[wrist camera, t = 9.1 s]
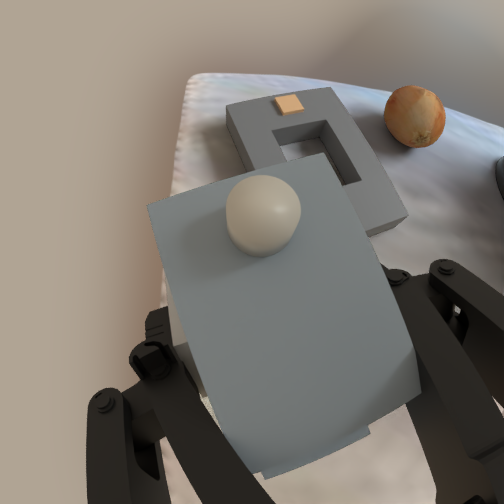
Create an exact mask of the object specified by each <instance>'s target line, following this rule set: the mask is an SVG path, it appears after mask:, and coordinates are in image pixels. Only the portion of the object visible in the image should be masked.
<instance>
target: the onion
mask: <svg viewBox="0 0 504 504" xmlns="http://www.w3.org/2000/svg"><path fill="white" fill-rule="evenodd" d="M445 118H446V117H445V110H444V107H443V105H442V102H441V101H440V99H439V98H438V97H437V96H436V95H435V94H434V93H432V92H430V91H429V90H427V89H424V88H421V87H418V86H405V87H402V88H399V89H397V90H396V91H394V92H393V93H392V95H391V96H390V97H389V99H388V101H387V103H386V106H385V110H384V120H385V123H386V126H387V128H388V130H389V131H390V132H391V134H392V135H393V136H394V137H395V138H396V139H397V140H398V141H400V142H401V143H403V144H405V145H407V146H410V147H413V148H421V147H427V146H429V145H431V144H433V143H434V142H435V141H437V140H438V138H439V137H440V136H441V134H442V132H443V129H444V126H445Z"/></svg>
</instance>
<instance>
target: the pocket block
mask: <svg viewBox="0 0 504 504" xmlns="http://www.w3.org/2000/svg"><path fill="white" fill-rule="evenodd" d="M226 125H227V127H228V129H229V132H230V134H231V136H232V139H233V141H234V143H235V146H236V148H237V150H238V152H239V155H240V157H241V159H242V162H243V164H244V166H245V169H246V171H247V172H251V171H254V170H258V169H261V168H265V167H269V166H272V165H276V164H280V163H283V162H287V160H286V158H285V156H284V154H283V152H282V150H281V148H280V146H281V145H286V144H290V143H294V142H299V141H303V140H308V139H312V138H317V137H320V139H321V140H322V142H323V144H324V146H325V147H326V149H327V151H328V153H329V154H330V156H331V158H332V160H333V161H334V163H335V165H336V167H337V169H338V171H339V172H340V174H341V176H342V178H343V180H344V182H345V184H346V185H344V186H343V188H344V190H345V192H346V194H347V196H348V198H349V200H350V202H351V204H352V206H353V208H354V210H355V212H356V213H357V215H358V218H359V220H360V222H361V224H362V226H363V228H364V230H365V232H366V234H367V236H368V237H370V236H373V235H375V234H378V233H381V232H383V231H386V230H389V229H391V228H394V227H396V226H397V225H398V224H399V223H400V222H401V221H403V220H404V219H405V218H406V217H407V216H408V213H407V211H406V209H405V207H404V205H403V203H402V201H401V199H400V197H399V195H398V193H397V191H396V190H395V188H394V186H393V184H392V182H391V181H390V179H389V177H388V175H387V173H386V172H385V170H384V168H383V166H382V165H381V163H380V161H379V160H378V158H377V156H376V155H375V153H374V151H373V150H372V148H371V146H370V145H369V143H368V142H367V140H366V138H365V137H364V135H363V134H362V132H361V131H360V129H359V127H358V126H357V124H356V123H355V121H354V120H353V118H352V117H351V115H350V114H349V112H348V111H347V109H346V108H345V107H344V105H343V104H342V102H341V101H340V99H339V98H338V97H337V95H336V94H335V92H334V91H333V90H332V88H331V87H326V88H318V89H311V90H304V91H297V92H291V93H285V94H279V95H273V96H268V97H263V98H258V99H253V100H248V101H243V102H239V103H234V104H230V105H226Z"/></svg>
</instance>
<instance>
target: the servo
mask: <svg viewBox="0 0 504 504" xmlns="http://www.w3.org/2000/svg"><path fill="white" fill-rule="evenodd" d="M147 209H148V212H149V217H150V221H151V225H152V228H153V232H154V236H155V239H156V243H157V247H158V250H159V253H160V257H161V261H162V264H163V268H164V271H165V274H166V278H167V281H168V284H169V287H170V291H171V294H172V297H173V300H174V303H175V306H176V309H177V313H178V316H179V319H180V322H181V325H182V327H183V330H184V333H185V336H186V339H187V342H188V345H189V348H190V350H191V353H192V356H193V359H194V361H195V364H196V367H197V370H198V372H199V375H200V377H201V380H202V383H203V385H204V388H205V390H206V393H207V396H208V398H209V401H210V403H211V405H212V408H213V410H214V413H215V415H216V418H217V420H218V422H219V425H220V427H221V429H222V432H223V434H224V436H225V437H226V439H227V440H228V442H229V443H230V445H231V446H232V447H233V449H234V450H235V452H236V453H237V454H238V456H239V457H240V458H241V460H242V461H243V463H244V464H245V465H246V467H247V468H248V469H249V471H250V472H251V473H252V474H255V473H258V472H262V475H263V477H264V479H265V480H266V479H269V478H272V477H275V476H278V475H280V474H283V473H286V472H288V471H291V470H294V469H296V468H299V467H301V466H304V465H306V464H308V463H311V462H313V461H316V460H318V459H320V458H322V457H325V456H327V455H329V454H331V453H333V452H336V451H338V450H340V449H342V448H344V447H346V446H348V445H350V444H352V443H354V442H356V441H358V440H360V439H362V438H364V437H365V436H367V435H369V434H370V431H369V428H368V425H369V424H371V423H372V422H374V421H376V420H378V419H380V418H381V417H383V416H385V415H387V414H388V413H390V412H392V411H394V410H395V409H397V408H399V407H400V406H402V405H403V404H405V403H407V402H408V401H410V400H411V399H413V398H415V397H416V396H418V395H419V394H421V386H420V379H419V372H418V366H417V360H416V354H415V349H414V347H413V344H412V341H411V338H410V336H409V333H408V330H407V327H406V325H405V322H404V320H403V317H402V314H401V312H400V309H399V307H398V304H397V302H396V299H395V297H394V295H393V292H392V290H391V287H390V285H389V283H388V280H387V278H386V276H385V273H384V271H383V269H382V266H381V264H380V262H379V260H378V258H377V255H376V253H375V251H374V249H373V247H372V244H371V242H370V240H369V238H368V236H367V234H366V232H365V230H364V228H363V226H362V224H361V222H360V220H359V218H358V215H357V213H356V212H355V210H354V208H353V206H352V204H351V202H350V200H349V198H348V196H347V194H346V192H345V190H344V188H343V186H342V185H341V183H340V181H339V179H338V177H337V175H336V173H335V172H334V170H333V168H332V166H331V164H330V163H329V161H328V159H327V157H326V156H325V154H324V152H323V153H319V154H315V155H311V156H307V157H303V158H299V159H295V160H291V161H287V162H283V163H280V164H276V165H272V166H269V167H265V168H261V169H258V170H254V171H251V172H247V173H244V174H241V175H237V176H234V177H230V178H227V179H224V180H221V181H217V182H214V183H211V184H208V185H205V186H201V187H198V188H195V189H192V190H189V191H186V192H183V193H180V194H177V195H174V196H171V197H168V198H165V199H162V200H159V201H157V202H154V203H151V204H148V205H147Z"/></svg>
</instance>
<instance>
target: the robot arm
mask: <svg viewBox="0 0 504 504" xmlns="http://www.w3.org/2000/svg"><path fill="white" fill-rule="evenodd" d="M496 178H497V183H498V186H499V189H500V192H501V194H502V196H503V198H504V156H503V157H502V158H501V159H500V160H499V161H498V162H497V165H496ZM380 264H381V263H380ZM381 266H382V269H383V271H384V273H385V276H386V278H387V280H388V283H389V285H390V287H391V290H392V292H393V295H394V297H395V299H396V302H397V304H398V307H399V309H400V312H401V314H402V317H403V320H404V322H405V325H406V327H407V330H408V333H409V336H410V338H411V341H412V344H413V347H414V349H415V354H416V360H417V366H418V372H419V379H420V386H421V394H419V395H418V396H416V397H415V398H413V399H411V400H410V401H408V402H407V403H405V404H406V407H407V409H408V412H409V414H410V417H411V419H412V422H413V424H414V427H415V429H416V432H417V435H418V437H419V440H420V443H421V445H422V448H423V451H424V453H425V456H426V459H427V462H428V465H429V467H430V470H431V473H432V476H433V479H434V482H435V485H436V491H437V493H436V504H504V418H503V416H502V414H501V412H500V410H499V408H498V406H497V404H496V403H495V401H494V399H495V400H496V401H497V402H498V403H499V404H500V405H501V406H502V407H503V408H504V296H503V295H502V294H500V293H499V292H498V291H496V290H495V289H493V288H492V287H491V286H489V285H488V284H487V283H485V282H484V281H482V280H481V279H480V278H478V277H477V276H475V275H474V274H472V273H471V272H470V271H468V270H467V269H465V268H464V267H462V266H461V265H459V264H458V263H456V262H454V261H452V260H448V259H439V260H436V261H434V262H433V263H431V265H430V268H429V273H427V274H422V275H418V276H411V275H410V274H409V273H408V272H406V271H404V270H400V269H390V270H389V269H388V268H386V267H385V266H384V265H382V264H381ZM164 272H165V271H164ZM165 283H166V292H167V301H168V306H166V307H163V308H160V309H157V310H154V311H151V312H149V315H148V316H147V318H146V321H145V330H146V333H145V335H146V340H145V341H143V342H141V343H140V344H138V345H137V346H136V347H135V348H134V349H133V350H132V352H131V354H130V356H129V364H130V365H131V367H132V368H133V370H134V371H135V372H136V374H137V375H138V377H139V378H140V379H141V380H140V381H139V382H138V383H137V384H135V385H134V386H132V387H131V388H129V389H127V390H125V391H124V392H122V393H121V392H120V391H119V390H118V389H115V388H105V389H103V390H100V391H99V392H97V393H96V394H95V395H94V396H93V397H92V398H91V400H90V402H89V405H88V414H87V439H86V474H87V475H86V476H87V499H88V504H171V500H170V495H169V491H168V486H167V481H166V475H165V470H164V465H163V459H162V453H161V447H160V441H159V440H160V439H162V438H163V437H165V436H166V437H167V439H168V441H169V443H170V446H171V447H172V449H173V451H174V453H175V455H176V457H177V459H178V461H179V463H180V465H181V467H182V469H183V470H184V472H185V474H186V476H187V478H188V480H189V481H190V483H191V485H192V487H193V488H194V490H195V492H196V493H197V495H198V497H199V498H200V500H201V502H202V503H203V504H275V502H274V501H273V500H272V499H271V497H270V496H269V495H268V494H267V493H266V491H265V490H264V489H263V487H262V486H261V485H260V484H259V482H258V481H257V480H256V478H255V477H254V476H253V475H252V473H251V472H250V471H249V469H248V468H247V467H246V465H245V464H244V463H243V461H242V460H241V458H240V457H239V456H238V454H237V453H236V452H235V450H234V449H233V447H232V446H231V445H230V443H229V442H228V440H227V439H226V437H225V436H224V434H223V433H222V432H221V430H220V429H219V427H218V426H217V424H216V423H215V421H214V420H213V418H212V417H211V415H210V413H209V412H208V410H207V409H206V407H205V406H204V404H203V403H202V401H201V399H200V395H199V393H200V394H201V396H202V398H204V397H207V393H206V390H205V388H204V385H203V383H202V380H201V377H200V375H199V372H198V370H197V367H196V364H195V361H194V359H193V356H192V353H191V350H190V348H189V345H188V342H187V339H186V336H185V333H184V330H183V327H182V325H181V322H180V319H179V316H178V313H177V309H176V306H175V303H174V300H173V297H172V294H171V291H170V287H169V284H168V281H167V278H166V274H165ZM455 305H456V306H457V307H459V308H460V309H461V311H460V314H458V313H457V312H455V311H454V310H455ZM492 396H493V397H492ZM493 398H494V399H493Z"/></svg>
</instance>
